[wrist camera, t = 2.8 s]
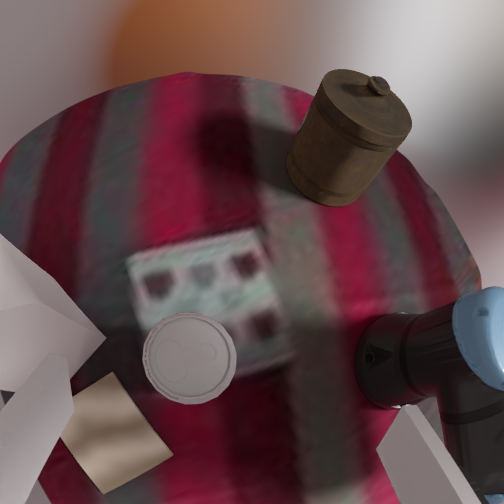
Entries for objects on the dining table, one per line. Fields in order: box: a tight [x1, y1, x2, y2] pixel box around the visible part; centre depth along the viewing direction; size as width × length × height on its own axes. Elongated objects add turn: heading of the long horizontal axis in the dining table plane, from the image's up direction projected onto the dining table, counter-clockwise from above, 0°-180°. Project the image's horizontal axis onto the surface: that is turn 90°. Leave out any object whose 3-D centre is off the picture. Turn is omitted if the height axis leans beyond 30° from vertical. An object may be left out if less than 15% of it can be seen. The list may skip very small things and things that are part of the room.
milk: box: [0, 234, 106, 392], centre depth 23 cm, size 12×12×26 cm
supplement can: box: [142, 312, 237, 404], centre depth 31 cm, size 8×8×15 cm
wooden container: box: [286, 69, 412, 207], centre depth 45 cm, size 15×15×22 cm
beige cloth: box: [60, 372, 173, 494], centre depth 31 cm, size 13×12×1 cm
